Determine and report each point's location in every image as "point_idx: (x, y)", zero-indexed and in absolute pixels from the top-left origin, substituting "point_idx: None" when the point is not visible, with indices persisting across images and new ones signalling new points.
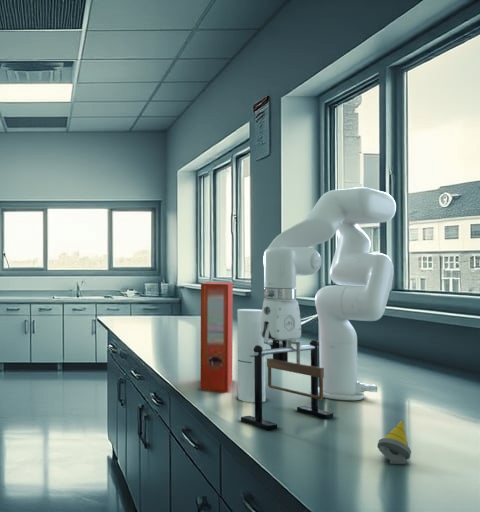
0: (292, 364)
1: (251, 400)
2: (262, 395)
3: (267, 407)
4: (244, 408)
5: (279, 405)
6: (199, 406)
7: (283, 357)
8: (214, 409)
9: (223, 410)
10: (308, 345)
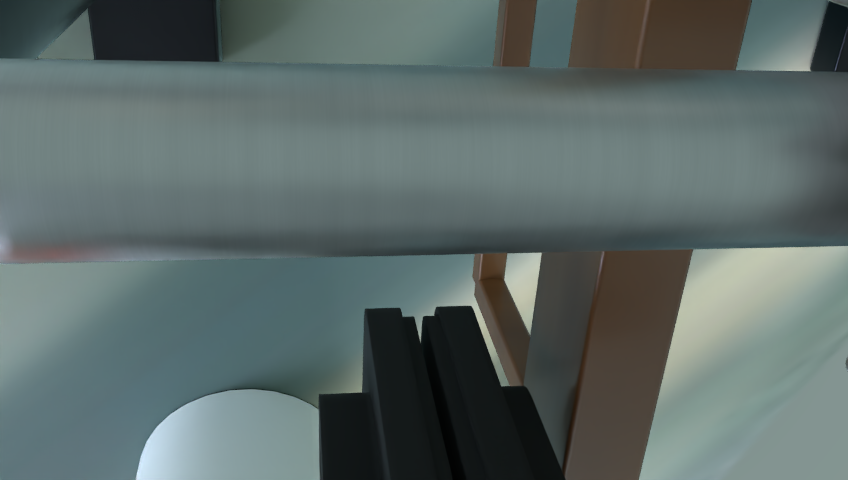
0: (728, 34)
1: None
2: (233, 425)
3: (341, 266)
4: (528, 316)
5: (188, 269)
6: (732, 459)
7: (504, 407)
8: (725, 376)
9: (700, 336)
10: (120, 171)
